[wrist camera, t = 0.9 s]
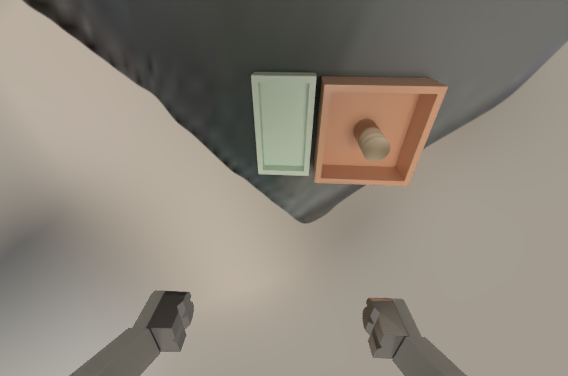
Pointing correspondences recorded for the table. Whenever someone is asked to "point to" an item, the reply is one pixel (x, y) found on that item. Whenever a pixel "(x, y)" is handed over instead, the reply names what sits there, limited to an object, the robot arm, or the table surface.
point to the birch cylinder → (371, 140)
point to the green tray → (283, 121)
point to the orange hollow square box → (388, 117)
